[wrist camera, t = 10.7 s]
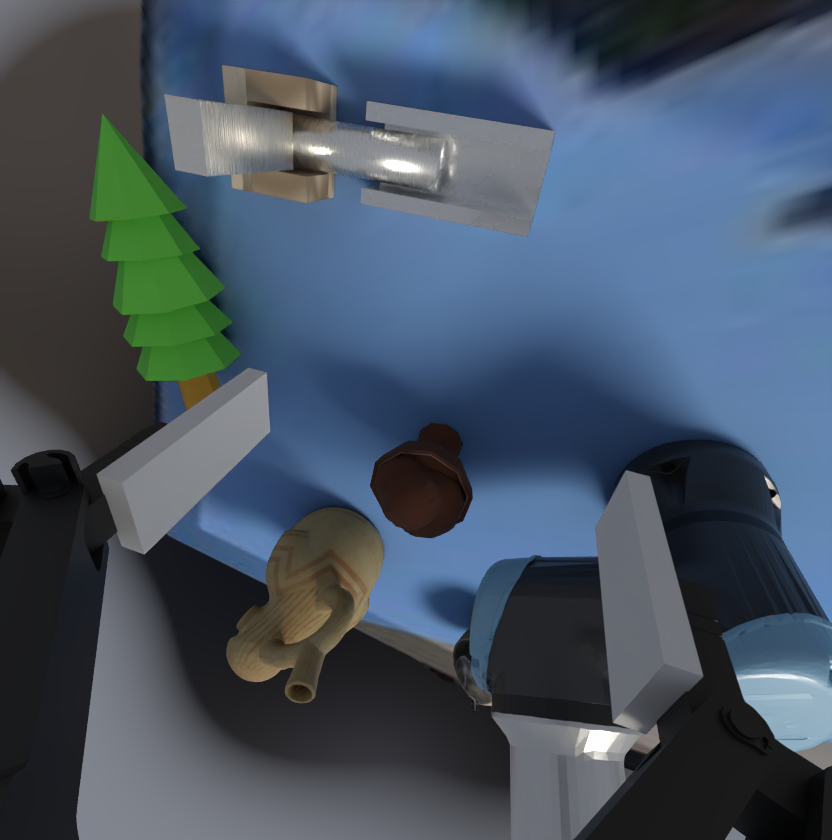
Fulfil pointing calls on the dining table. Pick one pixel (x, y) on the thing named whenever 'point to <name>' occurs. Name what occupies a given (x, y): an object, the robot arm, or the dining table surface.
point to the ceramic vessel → (309, 599)
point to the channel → (470, 170)
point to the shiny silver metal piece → (297, 145)
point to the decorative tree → (158, 273)
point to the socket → (287, 97)
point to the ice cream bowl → (424, 483)
